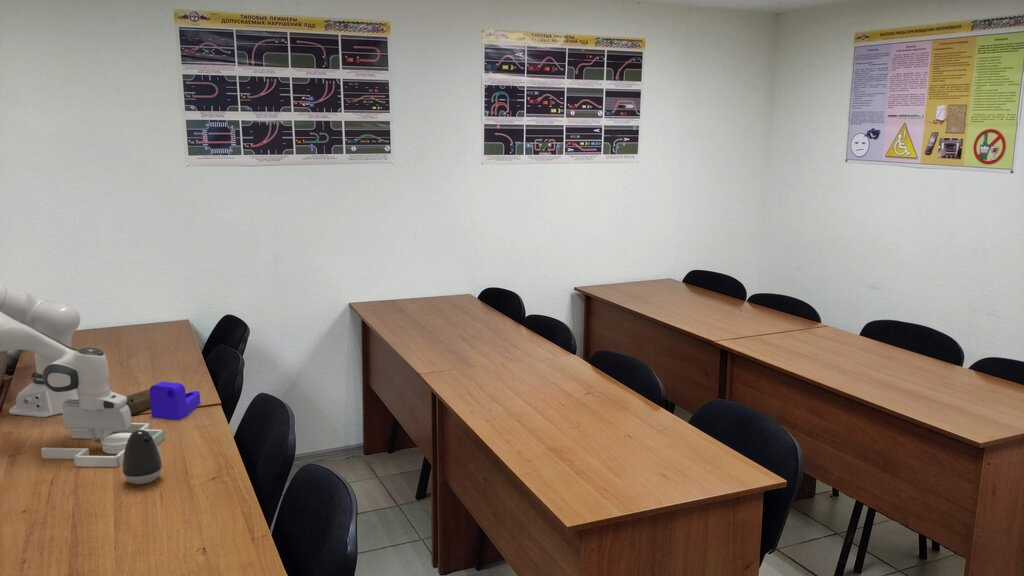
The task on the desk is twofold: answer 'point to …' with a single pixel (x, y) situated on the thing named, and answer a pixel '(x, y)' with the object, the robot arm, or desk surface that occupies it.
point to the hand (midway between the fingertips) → (99, 442)
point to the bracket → (172, 401)
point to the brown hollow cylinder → (139, 401)
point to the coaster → (115, 443)
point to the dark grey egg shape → (141, 458)
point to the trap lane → (85, 460)
